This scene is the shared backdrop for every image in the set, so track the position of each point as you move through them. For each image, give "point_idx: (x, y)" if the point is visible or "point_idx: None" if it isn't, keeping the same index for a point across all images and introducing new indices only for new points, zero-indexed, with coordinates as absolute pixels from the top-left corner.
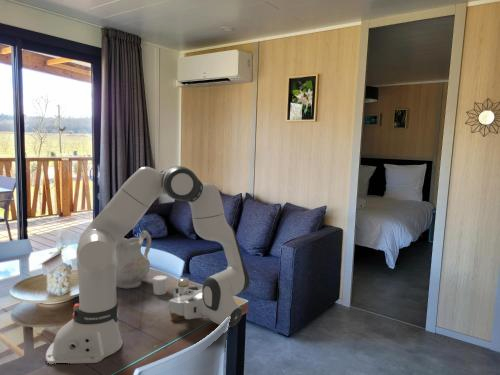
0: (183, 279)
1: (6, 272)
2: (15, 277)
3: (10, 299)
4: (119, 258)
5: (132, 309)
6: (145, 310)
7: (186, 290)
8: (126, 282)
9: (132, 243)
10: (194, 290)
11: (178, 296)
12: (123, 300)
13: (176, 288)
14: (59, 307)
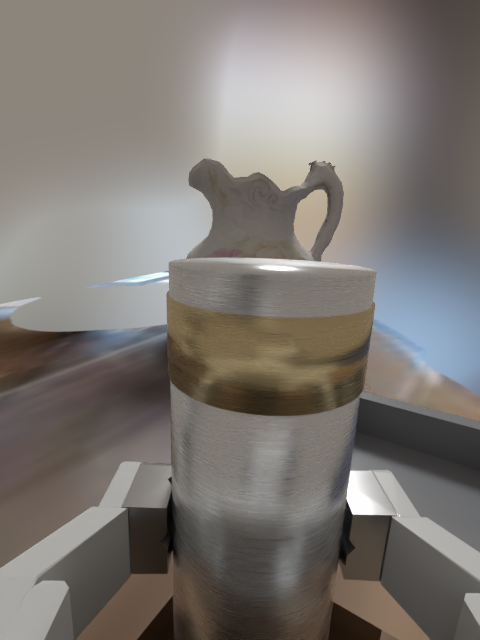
0: (267, 265)
1: (132, 278)
2: (124, 283)
3: (32, 300)
4: (210, 235)
5: (90, 418)
6: (109, 455)
7: (260, 502)
8: None
9: (246, 177)
10: (476, 565)
11: (4, 569)
12: (149, 369)
13: (360, 396)
14: (19, 332)
